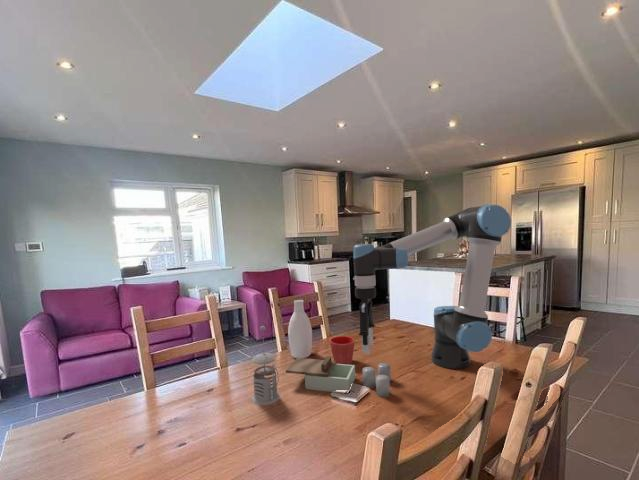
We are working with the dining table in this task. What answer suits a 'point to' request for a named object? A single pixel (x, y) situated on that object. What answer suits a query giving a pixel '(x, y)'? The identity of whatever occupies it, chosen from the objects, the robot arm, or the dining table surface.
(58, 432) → the dining table surface
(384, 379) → the grey rounded cylinder
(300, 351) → the bottle
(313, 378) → the sage box
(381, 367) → the grey cylinder
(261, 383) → the french press
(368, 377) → the grey cylinder
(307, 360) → the walnut lid
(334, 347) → the flower pot
